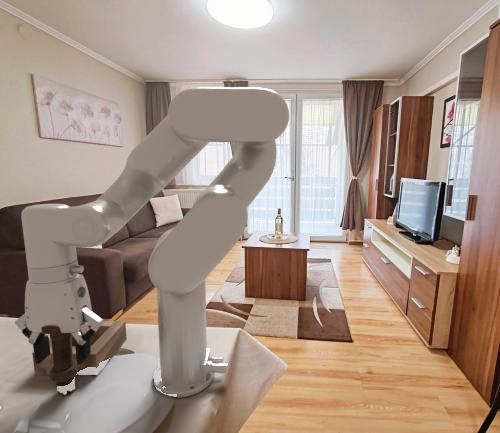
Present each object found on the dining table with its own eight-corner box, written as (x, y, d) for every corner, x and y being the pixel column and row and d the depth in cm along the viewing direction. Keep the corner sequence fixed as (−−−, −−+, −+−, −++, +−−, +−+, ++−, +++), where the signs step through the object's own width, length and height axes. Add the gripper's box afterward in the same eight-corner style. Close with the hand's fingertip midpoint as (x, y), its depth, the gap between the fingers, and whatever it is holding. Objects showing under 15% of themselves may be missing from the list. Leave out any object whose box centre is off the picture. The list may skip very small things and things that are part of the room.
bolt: (77, 377, 61) (71, 309, 58) (87, 388, 57) (81, 317, 55) (45, 393, 56) (36, 321, 54) (54, 406, 53) (45, 330, 51)
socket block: (126, 339, 74) (125, 321, 73) (97, 376, 61) (95, 354, 60) (75, 338, 75) (73, 320, 74) (34, 374, 61) (32, 352, 60)
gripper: (111, 265, 56) (117, 348, 59) (24, 264, 57) (34, 346, 60) (88, 279, 49) (97, 374, 52) (-11, 278, 50) (2, 371, 52)
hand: (63, 358), depth 56 cm, fingers open, 7 cm apart
